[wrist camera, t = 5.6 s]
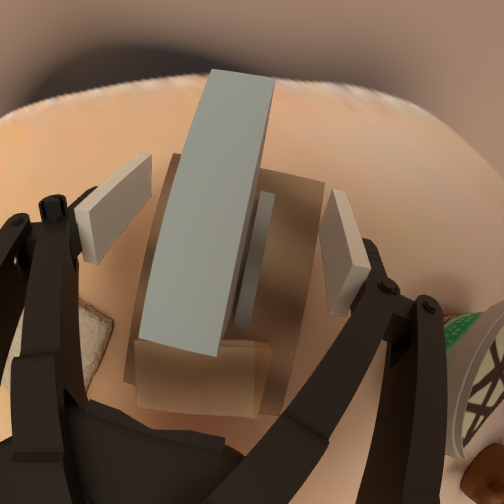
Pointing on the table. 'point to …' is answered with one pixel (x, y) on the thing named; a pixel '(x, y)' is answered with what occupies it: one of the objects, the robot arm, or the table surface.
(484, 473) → the mug
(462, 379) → the food container
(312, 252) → the brown rectangular board
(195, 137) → the tall panel
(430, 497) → the robot arm
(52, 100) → the table surface
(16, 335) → the washcloth
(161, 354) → the offcut stack
